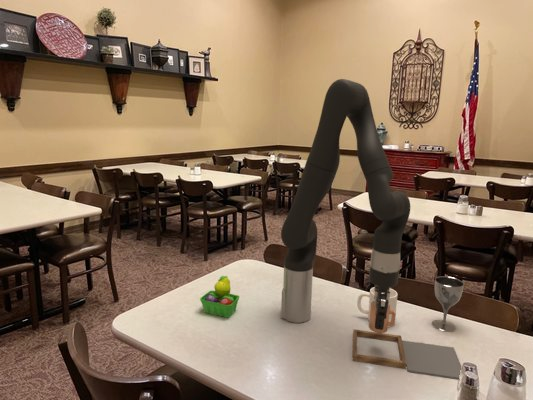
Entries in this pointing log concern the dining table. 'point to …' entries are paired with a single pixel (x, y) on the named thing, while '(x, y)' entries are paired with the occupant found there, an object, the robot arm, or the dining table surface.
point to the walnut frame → (379, 360)
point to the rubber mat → (431, 359)
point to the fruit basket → (220, 299)
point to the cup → (371, 295)
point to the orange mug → (386, 323)
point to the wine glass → (447, 299)
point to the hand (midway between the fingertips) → (378, 323)
